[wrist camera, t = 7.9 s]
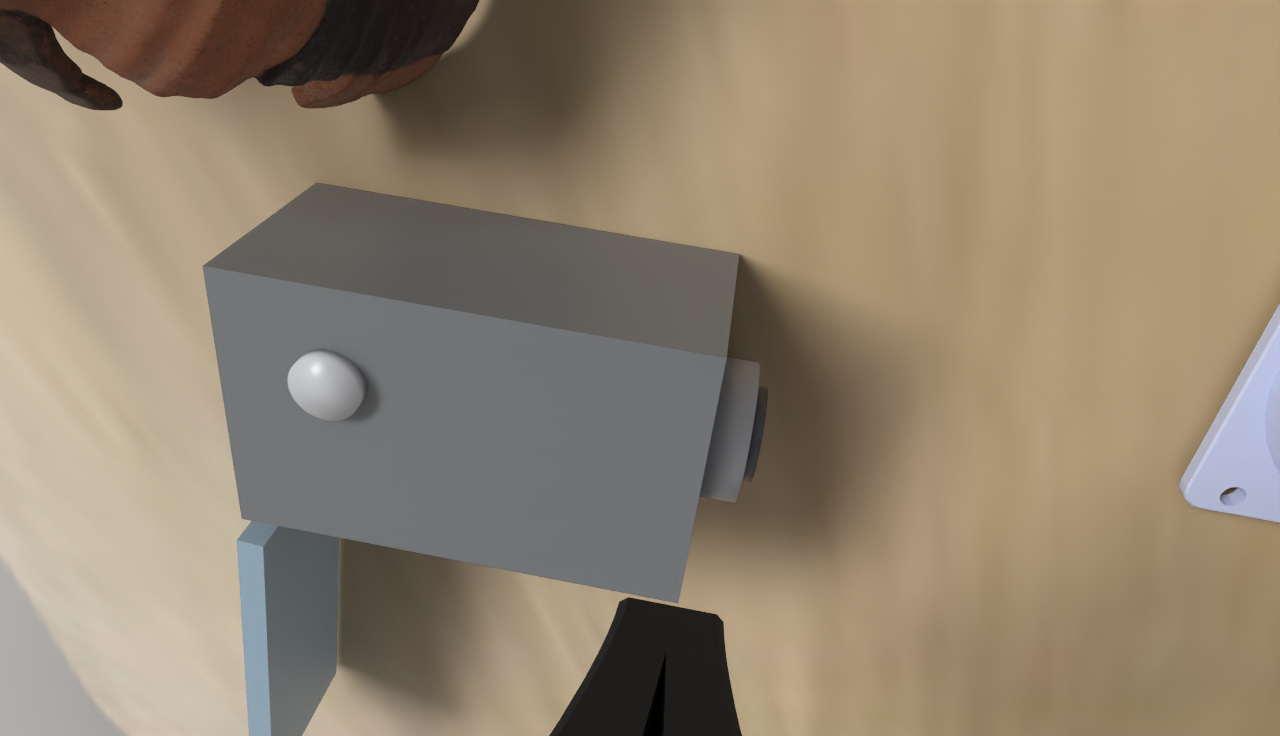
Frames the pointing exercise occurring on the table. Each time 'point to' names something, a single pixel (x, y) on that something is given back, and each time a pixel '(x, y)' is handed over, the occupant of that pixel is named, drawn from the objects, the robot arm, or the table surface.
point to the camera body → (482, 386)
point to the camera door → (287, 624)
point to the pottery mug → (230, 45)
